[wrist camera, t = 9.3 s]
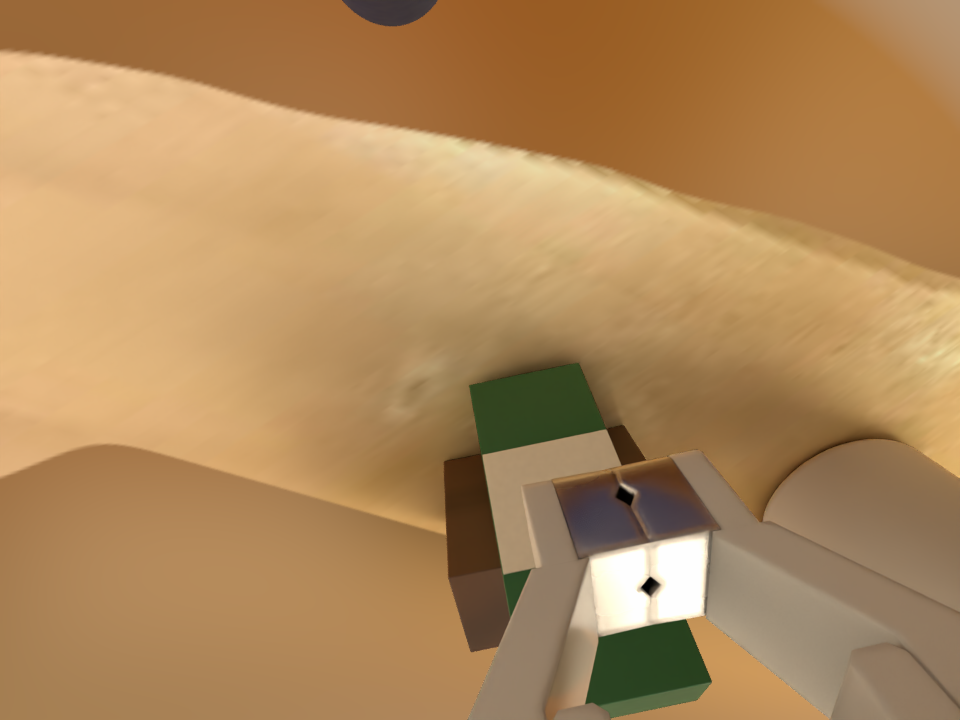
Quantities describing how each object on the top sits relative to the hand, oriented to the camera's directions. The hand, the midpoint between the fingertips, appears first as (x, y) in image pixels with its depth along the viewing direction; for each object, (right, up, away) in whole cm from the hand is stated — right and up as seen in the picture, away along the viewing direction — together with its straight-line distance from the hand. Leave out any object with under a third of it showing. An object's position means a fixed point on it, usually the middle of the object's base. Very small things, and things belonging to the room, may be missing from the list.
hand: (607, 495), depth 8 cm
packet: (+2, -5, +15) cm, 16 cm away
